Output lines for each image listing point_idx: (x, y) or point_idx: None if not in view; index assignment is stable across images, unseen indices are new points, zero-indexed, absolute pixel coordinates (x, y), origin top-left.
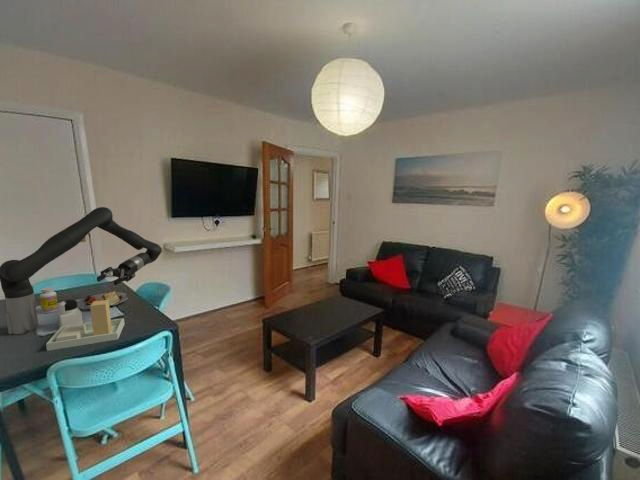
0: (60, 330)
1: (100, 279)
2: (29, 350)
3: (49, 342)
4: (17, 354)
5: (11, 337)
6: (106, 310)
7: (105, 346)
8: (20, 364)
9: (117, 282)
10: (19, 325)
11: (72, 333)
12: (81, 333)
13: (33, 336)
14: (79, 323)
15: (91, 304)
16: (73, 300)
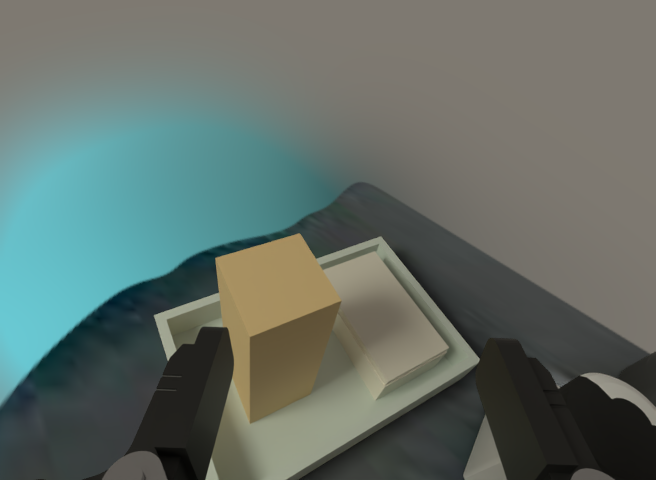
0: (447, 333)
1: (489, 392)
2: (444, 271)
3: (379, 244)
4: (451, 252)
5: (616, 345)
6: (220, 292)
7: (196, 299)
8: (383, 213)
9: (179, 359)
10: (654, 353)
11: (346, 282)
12: (341, 327)
13: (554, 357)
14: (476, 458)
15: (309, 250)
16: (624, 451)
